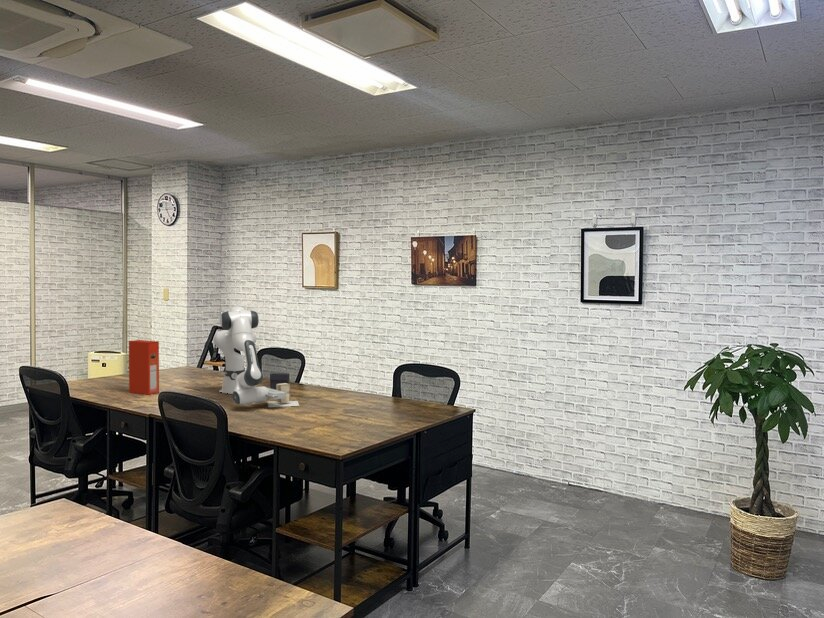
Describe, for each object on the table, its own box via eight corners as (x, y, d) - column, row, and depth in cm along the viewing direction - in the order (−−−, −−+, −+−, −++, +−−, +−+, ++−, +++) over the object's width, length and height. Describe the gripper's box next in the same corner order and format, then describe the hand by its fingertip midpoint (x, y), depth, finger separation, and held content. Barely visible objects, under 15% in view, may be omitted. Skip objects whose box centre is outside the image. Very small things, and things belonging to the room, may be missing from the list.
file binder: (148, 395, 384) (148, 342, 382) (128, 392, 392) (128, 340, 390) (159, 393, 391) (159, 341, 389) (139, 390, 399) (139, 339, 397)
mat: (267, 402, 368) (267, 401, 368) (297, 401, 372) (297, 400, 372) (268, 407, 355) (268, 406, 355) (299, 406, 359) (299, 405, 359)
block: (276, 401, 363) (276, 384, 363) (285, 400, 367) (285, 383, 367) (280, 402, 360) (281, 385, 359) (290, 401, 364) (290, 384, 363)
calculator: (289, 397, 384) (289, 373, 384) (287, 399, 380) (287, 374, 379) (271, 397, 385) (272, 372, 385) (269, 398, 381) (269, 373, 380)
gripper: (271, 391, 346) (293, 388, 355) (252, 386, 361) (273, 384, 370) (271, 402, 346) (293, 400, 356) (252, 397, 361) (273, 394, 371)
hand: (283, 391), depth 363 cm, fingers closed on block, 5 cm apart
